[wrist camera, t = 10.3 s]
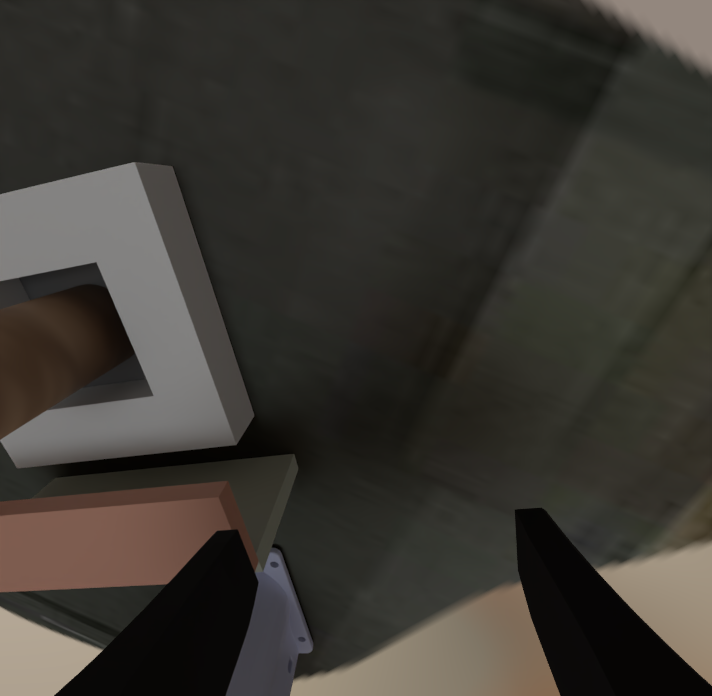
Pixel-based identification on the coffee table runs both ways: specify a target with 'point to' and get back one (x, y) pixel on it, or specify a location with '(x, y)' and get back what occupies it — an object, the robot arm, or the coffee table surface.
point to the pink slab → (139, 522)
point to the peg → (56, 350)
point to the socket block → (125, 317)
